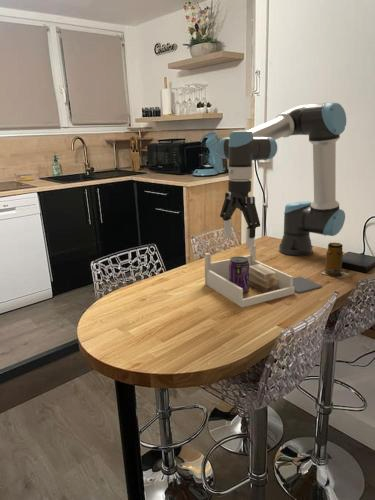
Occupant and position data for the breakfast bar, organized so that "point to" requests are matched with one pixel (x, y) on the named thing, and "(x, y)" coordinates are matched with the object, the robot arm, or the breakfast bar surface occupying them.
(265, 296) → the frame
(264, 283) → the offcut oak
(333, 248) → the condiment
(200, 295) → the breakfast bar surface
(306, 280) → the coaster
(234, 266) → the beverage can
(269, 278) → the offcut birch
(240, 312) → the breakfast bar surface
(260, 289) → the offcut walnut
